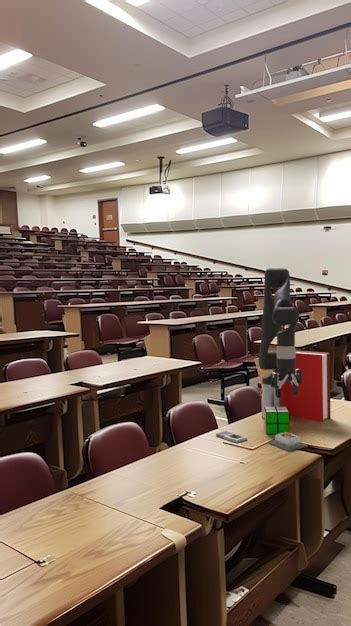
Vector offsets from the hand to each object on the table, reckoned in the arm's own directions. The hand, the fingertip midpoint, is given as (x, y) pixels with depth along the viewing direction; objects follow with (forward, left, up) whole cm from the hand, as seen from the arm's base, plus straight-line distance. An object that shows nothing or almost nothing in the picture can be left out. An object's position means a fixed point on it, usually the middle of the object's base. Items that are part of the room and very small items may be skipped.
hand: (286, 396), depth 195 cm
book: (-30, +36, -20) cm, 51 cm away
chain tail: (-20, -13, -20) cm, 32 cm away
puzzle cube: (-17, +9, -20) cm, 28 cm away
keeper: (0, 0, -20) cm, 20 cm away
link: (0, 0, -19) cm, 19 cm away
